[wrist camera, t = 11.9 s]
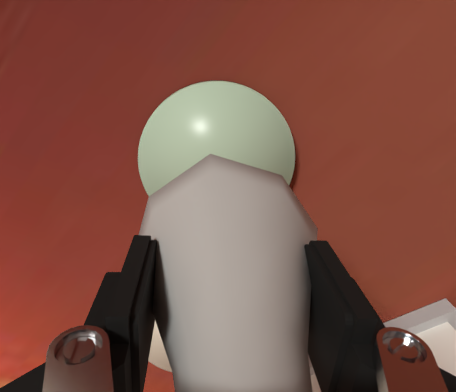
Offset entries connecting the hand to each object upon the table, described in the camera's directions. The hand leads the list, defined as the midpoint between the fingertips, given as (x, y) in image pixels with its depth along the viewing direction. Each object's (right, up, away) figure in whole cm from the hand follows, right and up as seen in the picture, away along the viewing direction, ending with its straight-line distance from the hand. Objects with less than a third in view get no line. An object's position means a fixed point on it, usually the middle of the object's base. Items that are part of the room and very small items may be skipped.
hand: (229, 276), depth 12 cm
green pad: (-1, +5, +13) cm, 14 cm away
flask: (0, +1, +2) cm, 3 cm away
